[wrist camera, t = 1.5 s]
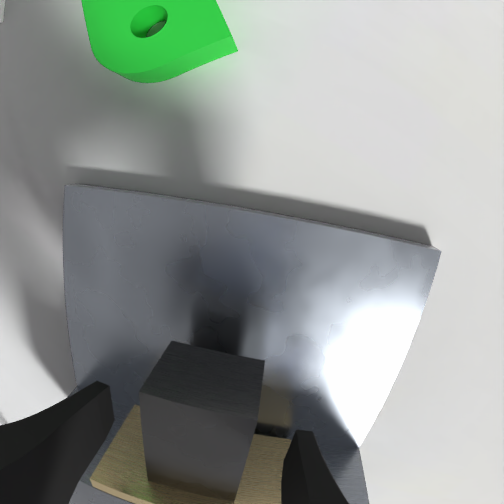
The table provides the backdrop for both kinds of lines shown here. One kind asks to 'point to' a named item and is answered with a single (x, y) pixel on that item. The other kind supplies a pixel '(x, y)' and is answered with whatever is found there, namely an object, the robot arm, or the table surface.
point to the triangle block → (2, 10)
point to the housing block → (242, 311)
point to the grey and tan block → (195, 435)
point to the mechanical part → (156, 36)
